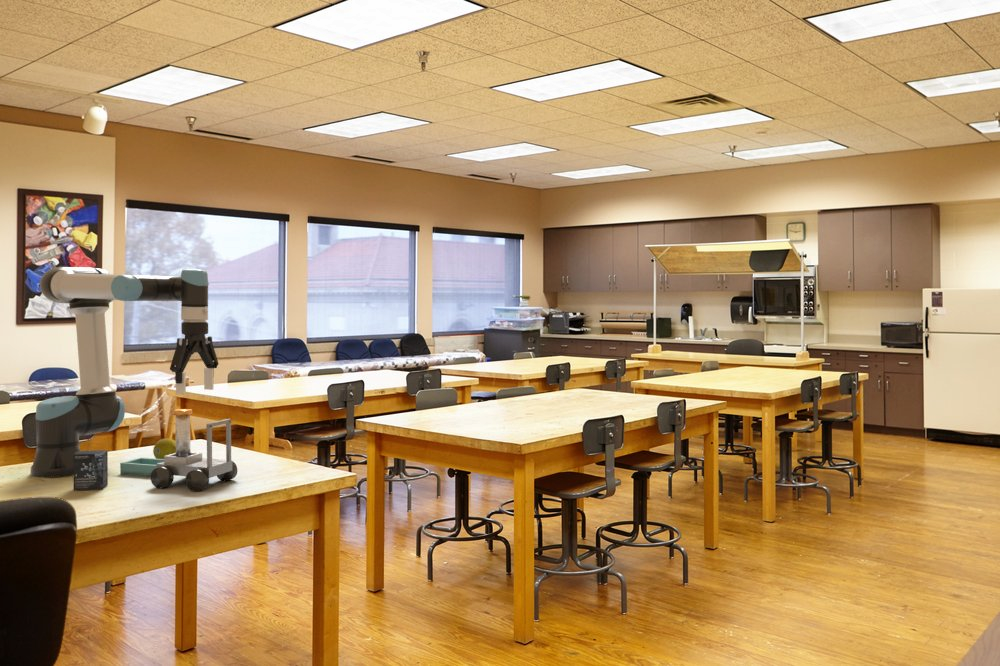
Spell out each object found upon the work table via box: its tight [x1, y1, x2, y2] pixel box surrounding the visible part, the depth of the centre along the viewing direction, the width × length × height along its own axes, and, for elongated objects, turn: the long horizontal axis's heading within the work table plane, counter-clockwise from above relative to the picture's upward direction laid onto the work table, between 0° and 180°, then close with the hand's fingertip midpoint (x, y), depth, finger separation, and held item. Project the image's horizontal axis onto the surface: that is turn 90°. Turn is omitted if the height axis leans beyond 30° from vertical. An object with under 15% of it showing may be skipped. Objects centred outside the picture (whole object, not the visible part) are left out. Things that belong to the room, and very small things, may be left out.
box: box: [73, 449, 109, 491], centre depth 232 cm, size 8×6×11 cm
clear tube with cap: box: [172, 408, 193, 457], centre depth 239 cm, size 5×5×15 cm
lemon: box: [152, 438, 176, 459], centre depth 269 cm, size 11×8×8 cm
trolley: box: [150, 418, 238, 493], centre depth 238 cm, size 18×16×19 cm
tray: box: [119, 457, 164, 477], centre depth 253 cm, size 13×9×4 cm
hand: (195, 392), depth 242 cm, fingers open, 13 cm apart
